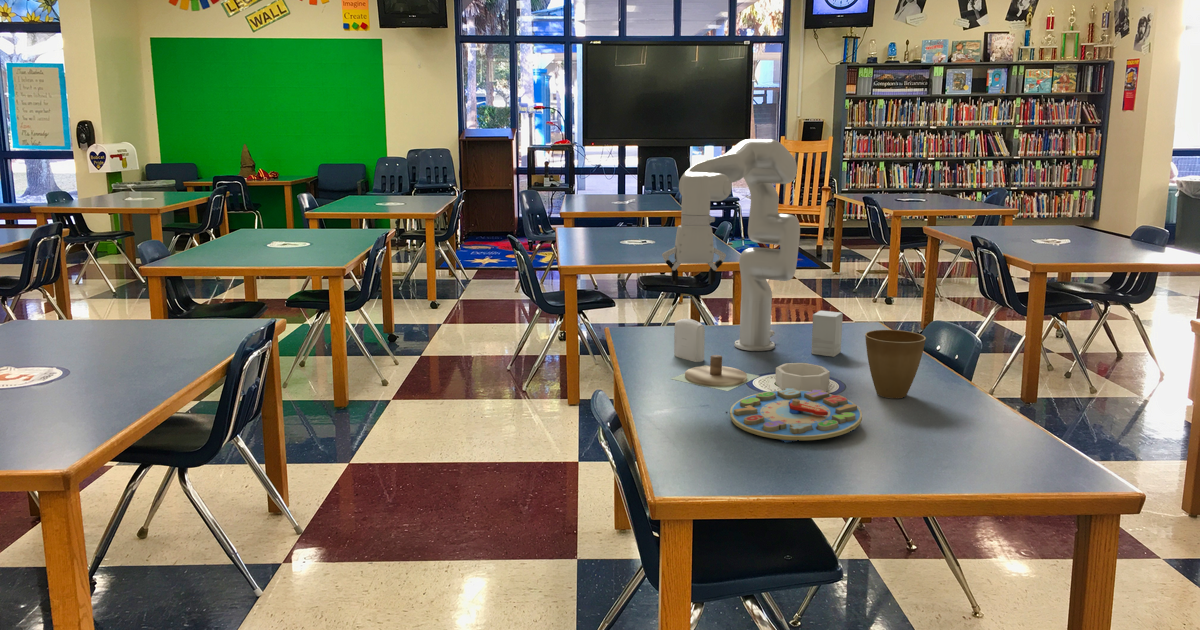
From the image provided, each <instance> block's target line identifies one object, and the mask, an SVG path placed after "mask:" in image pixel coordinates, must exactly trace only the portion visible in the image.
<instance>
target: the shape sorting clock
mask: <svg viewBox="0 0 1200 630" xmlns="http://www.w3.org/2000/svg"><path fill="white" fill-rule="evenodd" d="M729 417H730V421H732V423H733V424H734V425H735V426H736V427H738V428H739V429H741V430H743V431H745V432H747V433H750V434H754V435H757V436H759V437H764V438H768V439H776V440H780V441H782V442H783V441H784V442H783V443H786V442H787V443H792V441H793V442H798V441H797V440H799V441H817V440H824V439H829V438H834V437H838V436H842V435H845V434H847V433H851V432H853V431H852V430H854V431H856V429H857V427H859V425H860V424H861V423H862V420H863V413H862V409H861V408H860V407H859V406H858V404H856V403H854V402H853V401H851V400H849V399H848V398H847V397H845V396H843V395H841V394H837V395H835V394H831V393H829V392H827V391H823V390H816V389H814V390H811V391H802V390H797V389H795V388H786V389H784V390H782V389H780V390H771V391H764V392H763V391H762V392H759V393H754V394H751V395H748V396H745V397H743V398H741V399H739V400H737V401H736V402H734V403H733V404H732V405H731V407H730V409H729ZM850 431H851V432H850Z"/></svg>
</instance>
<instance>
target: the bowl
mask: <svg viewBox="0 0 1200 630" xmlns="http://www.w3.org/2000/svg"><path fill="white" fill-rule="evenodd" d="M830 372H831V371H829V370H828V369H827V368H826V367H824V365H817V364H813V363H807V362H791V363H790V362H789V363H788V362H787V363H786V362H785V363H783V364H781V365H779V366H777V367H775V377H774V378H775V381H774V383H775V385H776V386H778V387H779V389H780V390H784V389H786V388H795V389H797V390H802V391H811V390H814V389H816V390H823V391H825V392H827V391H829V390H830V389H829V388H830V375H831V374H830Z"/></svg>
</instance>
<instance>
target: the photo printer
mask: <svg viewBox="0 0 1200 630" xmlns="http://www.w3.org/2000/svg"><path fill="white" fill-rule="evenodd" d="M705 331H706V329H705V326H704V325H703V324H702V323H701V322H699V321H697V320H695V319H692V318H681V319H678V320H676V321H675V324H674V334H673V335H674V338H673V339H674V343H673V344H674V348H673V349H674V350H673V353H674V354H673V356H674V357H676V358H679V359H683V360H687V361H691V362H695V363H700V362H704V360H705V340H706V339H705V338H706V337H705V334H706V333H705Z"/></svg>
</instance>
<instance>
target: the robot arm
mask: <svg viewBox="0 0 1200 630" xmlns="http://www.w3.org/2000/svg"><path fill="white" fill-rule="evenodd" d="M797 174H798V166H797V161H796V158H795V157H794V156H793V155H792V153H791V152H790V151H789V150H788V149H787V148H786V146H784V145H783V144H782V143H781V142H779V141H778V140H776V139H772V138H771V139H770V138H766V139H765V138H763V139H762V138H748V139H743V140H741V141H739V142H738V143H736V144H735V145H734V146H733V147H731V149H728V150H727V152H725V153H724V154H723V155H719V156H716V157H712V158H709V159H706V160H703V161H700V162H698V163H695V164H694V165H692V166H691V167H689V168H688V169H687V170H686V171H685V172H684V173H683V174H682V175H681V177H680V179H679V183H678V192H679V193H680V195H681V219H680V220H681V221H680V225H678V226H677V229H676V233H675V235H676V236H675V242H674V247H672V248H670V249H667V250H666V251H664V252H662V254H661V256H662V258H663V260H664V263H665V264H666V265H667V266H668V267H669V268H670V269H671V278H670V279H671V280H670V281H671V282H672V283H673V285H674V286H678V283H679V270H678V268H679V267H680V266H681V264H683V265H685V264H688V265H689V264H691V265H693V264H695V265H697V264H701V265H702V264H703V265H708V266H709V269H708V280H707V281H708V284H709V285H710V286H714V283H715V282H716V272H717V270H718V269H719V268H720V266H722V265H723V263H724V261H725V259H726V257H727V254H726V253H725V252H723V251H721V250H719V249H717V248H715V247H714V234H713V227H712V226H711V223H714V222H715V221H716V217H715V216H711V202H722V201H724V200H726V199H727V198H728V197H729V196H730V195H731V193H732V187H733V185H732V183H736V182H739V181H741V180H742V179H744V180H745V183H746V185H747V187H748V189H749V194H750V208H749V216H748V226H747V235H748V239H749V240H750V241H751V242H753V243H757V244H765V245H766V244H767V245H775V246H778V245H779V248H780V249H779V248H778V249H777V248H770V247H767V248H766V247H760V246H759V247H757V246H756V247H748V248H746V249H744V250H743V251H742V252H741V254H740V256H739V260H738V261H739V272H740V282H741V293H740V294H741V297H740V320H739V321H740V322H739V339H737V340H735V341H734V347H735V348H737V349H739V350H744V351H751V352H766V351H771V350H773V349H775V347H776V346H775V342H773V341H772V340H771V337H773V336H775V334H776V333H775V331H774V330H773V329H771V327H772V326H771V324H772V308H773V307H772V302H773V292H772V291H773V290H772V287H771V286H770V284H769V282H768V280H769V281H770V280H772V281H780V282H787V281H791V280H792V279H793V278H794V276H795V274H796V272H797V271H796V270H797V263H798V255H799V247H800V246H799V245H800V237H801V226H800V225H801V224H800V221H799V219H798V218H797V216H795V215H794V214H790V213H789V214H788V213H779V201H780V198H779V197H780V196H779V193H778V192H777V191H778V190H777V189H776V188H775V186H774V184H776V185H777V184H779V185H786V184H790V183H791V182H793V181H794V180H795V179H796V176H797ZM673 254H674V261H673V262H672V261H671V260H670V258H669V257H670V256H672V255H673ZM714 254H716V255H717V256H719V257H718V259H717V260H716V261H715V262H713V261H714V258H715V257H714Z"/></svg>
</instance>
